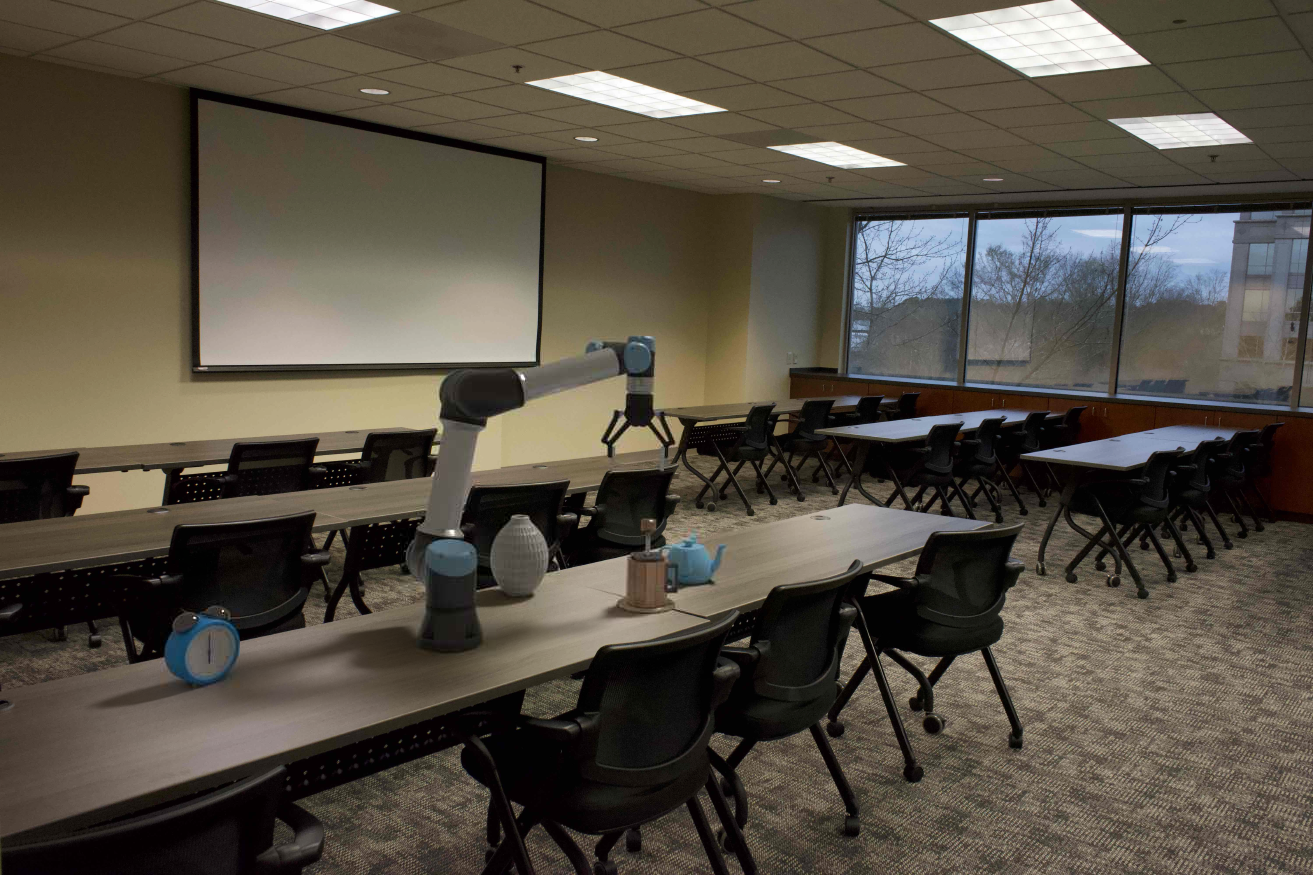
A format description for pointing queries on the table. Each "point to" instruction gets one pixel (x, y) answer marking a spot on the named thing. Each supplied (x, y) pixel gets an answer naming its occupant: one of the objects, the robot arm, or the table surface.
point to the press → (648, 584)
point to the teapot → (692, 561)
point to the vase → (519, 557)
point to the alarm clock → (202, 646)
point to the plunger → (648, 532)
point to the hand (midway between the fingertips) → (637, 470)
